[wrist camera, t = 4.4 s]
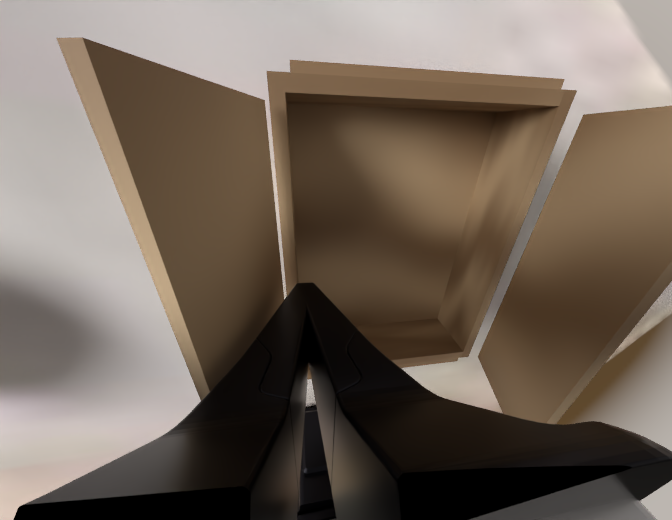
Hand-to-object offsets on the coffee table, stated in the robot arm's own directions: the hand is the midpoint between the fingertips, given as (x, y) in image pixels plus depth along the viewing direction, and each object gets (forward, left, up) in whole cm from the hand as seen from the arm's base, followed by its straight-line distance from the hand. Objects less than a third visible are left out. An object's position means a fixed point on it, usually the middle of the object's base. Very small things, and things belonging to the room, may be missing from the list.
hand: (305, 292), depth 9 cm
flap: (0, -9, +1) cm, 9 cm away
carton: (0, -5, -5) cm, 7 cm away
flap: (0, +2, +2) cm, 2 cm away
